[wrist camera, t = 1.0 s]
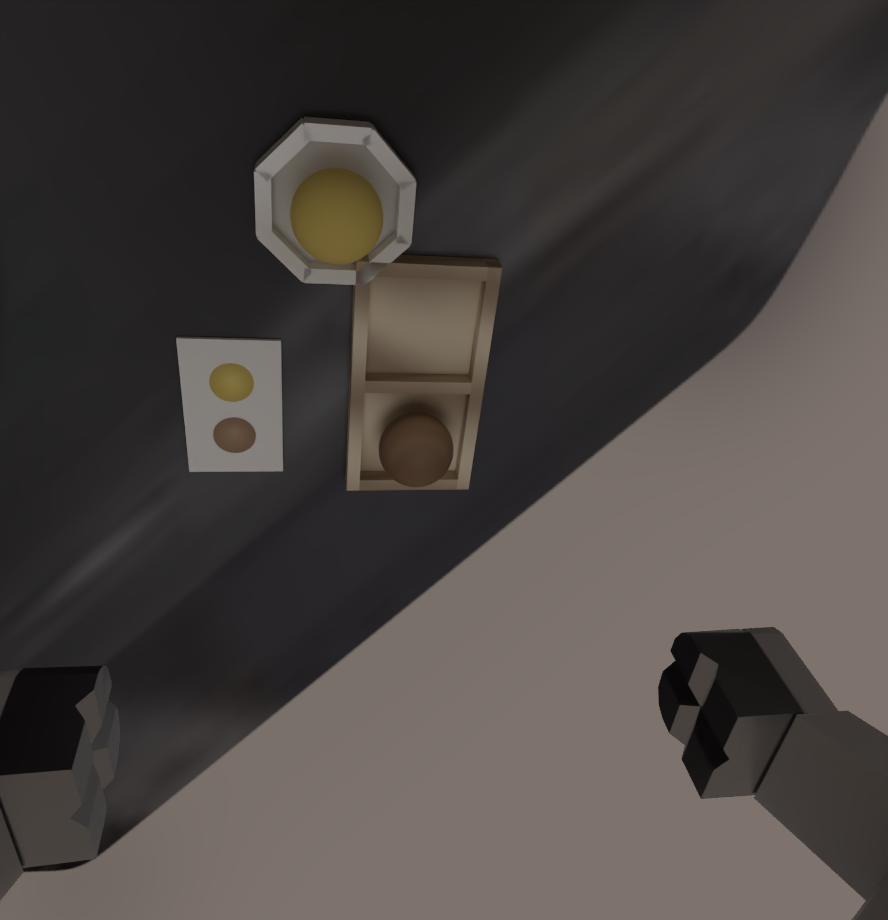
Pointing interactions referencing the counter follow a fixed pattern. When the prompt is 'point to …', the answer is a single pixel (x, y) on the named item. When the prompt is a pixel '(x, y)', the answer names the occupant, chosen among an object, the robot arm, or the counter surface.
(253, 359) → the card
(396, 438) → the walnut ball
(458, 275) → the twin rack
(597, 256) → the counter surface
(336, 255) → the mustard ball
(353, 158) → the white bowl
